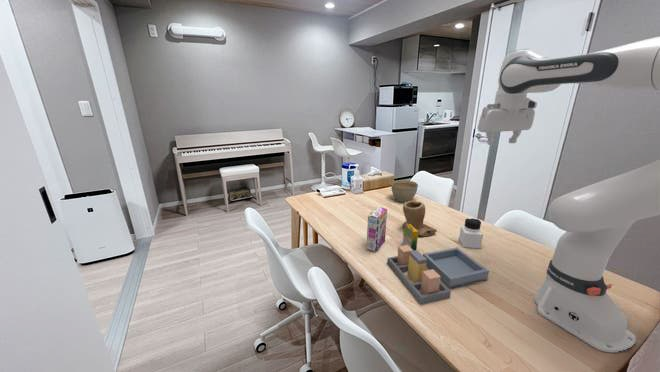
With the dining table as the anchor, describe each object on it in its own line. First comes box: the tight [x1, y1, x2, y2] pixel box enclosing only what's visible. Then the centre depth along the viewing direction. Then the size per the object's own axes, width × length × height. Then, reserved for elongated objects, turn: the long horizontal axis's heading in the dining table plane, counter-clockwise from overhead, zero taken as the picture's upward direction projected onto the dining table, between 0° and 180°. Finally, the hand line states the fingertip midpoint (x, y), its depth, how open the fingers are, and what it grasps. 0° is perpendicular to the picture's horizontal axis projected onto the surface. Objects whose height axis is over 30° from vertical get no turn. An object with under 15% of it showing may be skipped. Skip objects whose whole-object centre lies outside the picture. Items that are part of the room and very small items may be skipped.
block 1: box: [396, 245, 413, 266], centre depth 102 cm, size 4×4×8 cm
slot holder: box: [386, 255, 452, 305], centre depth 96 cm, size 23×11×2 cm, turn 15°
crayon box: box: [402, 220, 419, 251], centre depth 114 cm, size 7×3×12 cm, turn 12°
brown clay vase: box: [401, 200, 438, 237], centre depth 127 cm, size 15×12×15 cm
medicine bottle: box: [458, 217, 484, 250], centre depth 116 cm, size 7×7×12 cm
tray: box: [422, 247, 490, 290], centre depth 100 cm, size 16×16×4 cm
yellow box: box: [407, 249, 427, 283], centre depth 95 cm, size 6×3×10 cm, turn 15°
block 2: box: [419, 269, 441, 295], centre depth 88 cm, size 4×4×8 cm
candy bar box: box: [366, 206, 388, 253], centre depth 116 cm, size 11×5×16 cm, turn 149°
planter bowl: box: [390, 179, 419, 204], centre depth 166 cm, size 16×16×11 cm
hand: (501, 143), depth 95 cm, fingers open, 8 cm apart
